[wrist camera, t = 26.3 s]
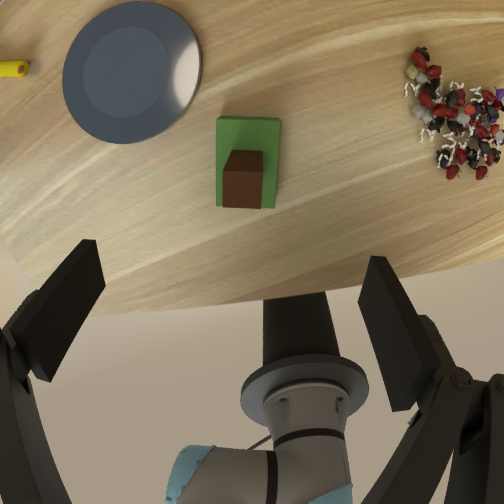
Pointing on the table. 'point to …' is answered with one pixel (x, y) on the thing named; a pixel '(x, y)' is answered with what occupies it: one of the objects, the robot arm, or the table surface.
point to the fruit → (13, 68)
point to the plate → (131, 72)
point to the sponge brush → (246, 161)
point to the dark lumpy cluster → (442, 111)
